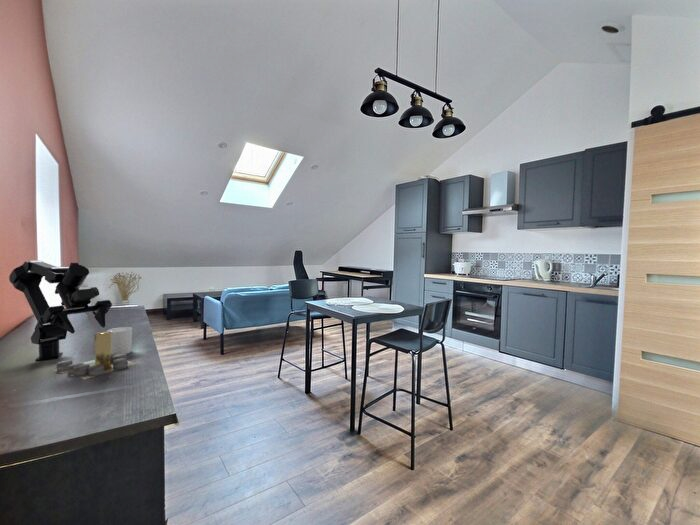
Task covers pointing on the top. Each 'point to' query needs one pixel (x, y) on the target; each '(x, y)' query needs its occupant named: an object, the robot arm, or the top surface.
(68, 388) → the top surface
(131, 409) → the top surface
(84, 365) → the spacer board
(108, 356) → the brass post
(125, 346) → the white cup
